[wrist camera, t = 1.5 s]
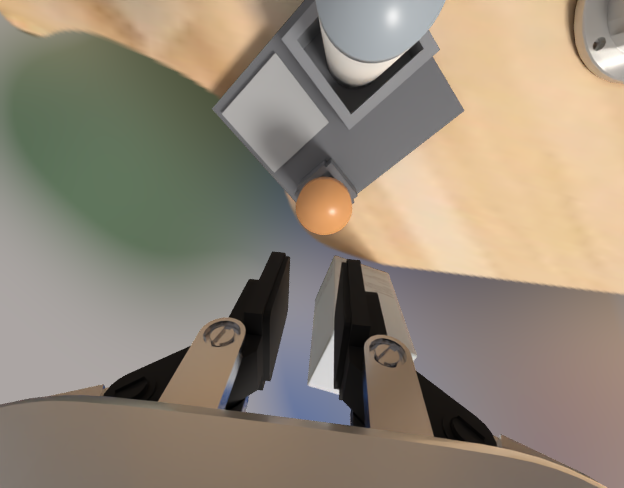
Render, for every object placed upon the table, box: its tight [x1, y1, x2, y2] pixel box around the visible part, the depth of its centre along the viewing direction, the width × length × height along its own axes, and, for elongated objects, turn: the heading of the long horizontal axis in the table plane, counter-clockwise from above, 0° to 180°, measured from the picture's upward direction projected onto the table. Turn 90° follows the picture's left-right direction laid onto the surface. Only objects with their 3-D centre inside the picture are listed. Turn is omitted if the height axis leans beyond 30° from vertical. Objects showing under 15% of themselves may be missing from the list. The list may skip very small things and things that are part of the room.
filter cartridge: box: [315, 0, 445, 89], centre depth 16 cm, size 5×5×14 cm
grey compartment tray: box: [212, 0, 464, 204], centre depth 23 cm, size 17×15×5 cm
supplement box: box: [308, 256, 417, 395], centre depth 29 cm, size 7×7×13 cm
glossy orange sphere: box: [296, 177, 352, 235], centre depth 23 cm, size 4×4×4 cm
